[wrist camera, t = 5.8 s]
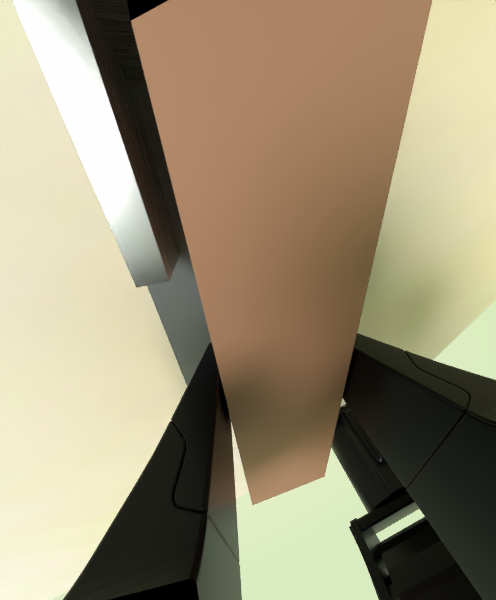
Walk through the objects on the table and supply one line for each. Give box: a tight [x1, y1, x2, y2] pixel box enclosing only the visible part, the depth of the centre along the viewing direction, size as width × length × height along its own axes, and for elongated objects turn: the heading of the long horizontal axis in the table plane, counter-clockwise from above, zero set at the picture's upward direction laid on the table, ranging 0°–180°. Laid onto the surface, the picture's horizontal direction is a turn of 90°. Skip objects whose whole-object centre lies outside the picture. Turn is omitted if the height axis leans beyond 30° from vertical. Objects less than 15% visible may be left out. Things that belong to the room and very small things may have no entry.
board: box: [134, 85, 232, 422], centre depth 10 cm, size 19×9×1 cm, turn 6°
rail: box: [127, 0, 432, 505], centre depth 7 cm, size 16×4×4 cm, turn 6°
